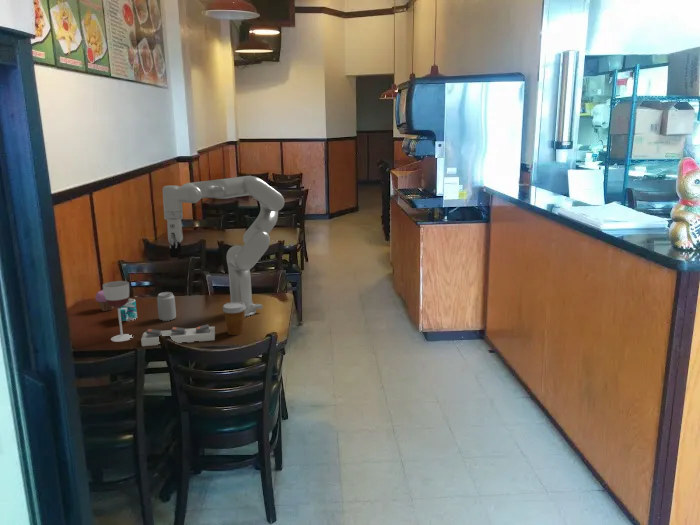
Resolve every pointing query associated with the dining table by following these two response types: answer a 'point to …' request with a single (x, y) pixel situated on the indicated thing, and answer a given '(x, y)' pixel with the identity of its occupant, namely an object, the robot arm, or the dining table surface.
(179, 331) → the rocker middle
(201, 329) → the rocker
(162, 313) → the can
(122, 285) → the wineglass
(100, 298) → the cupcake
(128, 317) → the mug
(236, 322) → the disposable coffee cup
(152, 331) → the rocker
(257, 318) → the dining table surface
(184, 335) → the power strip
